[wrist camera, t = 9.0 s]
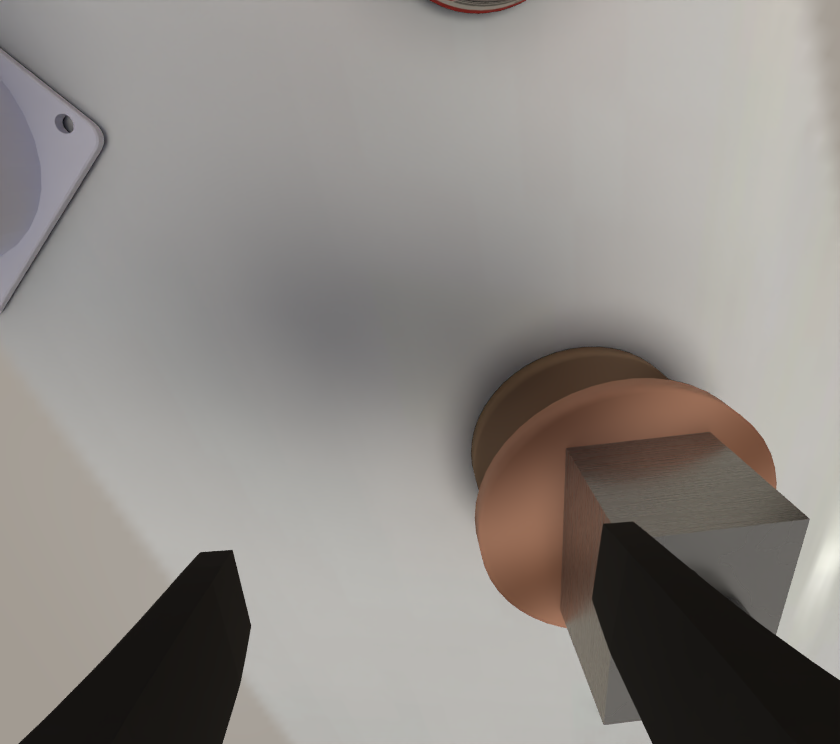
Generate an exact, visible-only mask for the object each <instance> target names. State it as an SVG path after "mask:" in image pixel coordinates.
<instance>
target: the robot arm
mask: <svg viewBox="0 0 840 744" xmlns="http://www.w3.org/2000/svg"><path fill="white" fill-rule="evenodd" d="M66 115H67V116H69V117H70V118H71V120H72V121H73V124H74V129H73V131H72V132H71V133H69V132H67V130H66V129H65V128H64V126H63V123H62V122H63V118H64V117H65V116H66ZM103 145H104V136H103V134H102V132H101V129H100V128H99V127H98V126H97V125H96V124H95V123H94V122H93V121H92V120H90V119H89V118H88V117H87V116H85V115H84V114H83V113H82V112H80V111H79V110H78V109H76V108H75V107H74V106H73V105H71V104H70V103H69V102H68V101H66V100H65V99H64V98H63V97H61V96H60V95H59V94H58V93H56V92H55V91H54V90H53V89H51V88H50V87H49V86H47V85H46V84H45V83H44V82H42V81H41V80H40V79H39V78H37V77H36V76H35V75H34V74H32V73H31V72H30V71H29V70H27V69H26V68H25V67H24V66H22V65H21V64H20V63H18V62H17V61H16V60H15V59H13V58H12V57H11V56H10V55H8V54H7V53H6V52H5V51H3V50H2V49H1V48H0V313H1V312H2V310H3V309H4V307H5V306H6V304H7V302H8V301H9V299H10V298H11V296H12V294H13V293H14V291H15V289H16V288H17V286H18V285H19V283H20V281H21V280H22V278H23V276H24V275H25V273H26V272H27V270H28V268H29V267H30V265H31V263H32V262H33V260H34V259H35V257H36V255H37V254H38V252H39V250H40V249H41V247H42V246H43V244H44V242H45V241H46V239H47V237H48V236H49V234H50V233H51V231H52V229H53V228H54V226H55V224H56V223H57V221H58V220H59V218H60V216H61V215H62V213H63V211H64V210H65V208H66V207H67V205H68V203H69V202H70V200H71V198H72V197H73V195H74V194H75V192H76V190H77V189H78V187H79V186H80V184H81V182H82V181H83V179H84V177H85V176H86V174H87V173H88V171H89V169H90V168H91V166H92V164H93V163H94V161H95V160H96V158H97V156H98V155H99V153H100V151H101V150H102V148H103ZM592 602H593V605H594V608H595V611H596V614H597V617H598V620H599V623H600V626H601V629H602V632H603V635H604V637H605V640H606V643H607V646H608V649H609V651H610V654H611V656H612V658H613V660H614V663H615V665H616V667H617V669H618V671H619V673H620V676H621V678H622V680H623V682H624V684H625V686H626V688H627V691H628V693H629V695H630V697H631V699H632V701H633V703H634V705H635V708H636V710H637V712H638V714H639V716H640V718H641V720H642V722H643V724H644V727H645V729H646V731H647V733H648V735H649V737H650V739H651V741H652V743H653V744H840V680H839V679H837V678H836V677H834V676H833V675H831V674H830V673H828V672H827V671H825V670H824V669H822V668H821V667H820V666H818V665H817V664H815V663H814V662H812V661H811V660H809V659H808V658H807V657H805V656H804V655H802V654H801V653H800V652H798V651H797V650H796V649H794V648H793V647H791V646H790V645H789V644H787V643H786V642H785V641H783V640H782V639H780V638H779V637H778V636H776V635H775V634H774V633H772V632H771V631H769V630H768V629H767V628H765V627H764V626H763V625H761V624H760V623H759V622H757V621H756V620H755V619H753V618H752V617H751V616H750V615H748V614H747V613H746V612H744V611H743V610H742V609H740V608H739V607H738V606H737V605H735V604H734V603H733V602H731V601H730V600H729V599H728V598H726V597H725V596H724V595H723V594H721V593H720V592H719V591H718V590H716V589H715V588H714V587H713V586H711V585H710V584H709V583H708V582H706V581H705V580H704V579H703V578H701V577H700V576H699V575H698V574H697V573H695V572H694V571H693V570H692V569H690V568H689V567H688V566H687V565H686V564H684V563H683V562H682V561H681V560H680V559H678V558H677V557H676V556H675V555H674V554H672V553H671V552H670V551H669V550H668V549H666V548H665V547H664V546H663V545H662V544H660V543H659V542H658V541H657V540H656V539H654V538H653V537H652V536H651V535H650V534H648V533H647V532H646V531H645V530H643V529H642V528H641V527H640V526H638V525H637V524H636V523H635V522H619V523H605V524H603V527H602V533H601V540H600V547H599V554H598V560H597V567H596V574H595V581H594V587H593V594H592ZM250 629H251V623H250V619H249V615H248V611H247V607H246V603H245V599H244V595H243V591H242V587H241V583H240V579H239V574H238V570H237V566H236V562H235V558H234V554H233V550H226V551H212V552H200V553H199V554H198V555H197V556H196V557H195V558H194V560H193V561H192V562H191V563H190V564H189V565H188V566H187V567H186V568H185V569H184V571H183V572H182V573H181V574H180V575H179V576H178V577H177V578H176V580H175V581H174V582H173V583H172V584H171V585H170V587H169V588H168V589H167V590H166V591H165V592H164V593H163V594H162V596H161V597H160V598H159V599H158V600H157V601H156V602H155V603H154V605H153V606H152V607H151V608H150V609H149V610H148V611H147V612H146V613H145V615H144V616H143V617H142V618H141V619H140V620H139V621H138V622H137V623H136V625H135V626H134V627H133V628H132V629H131V630H130V631H129V632H128V633H127V634H126V635H125V637H123V639H122V640H121V641H120V642H119V643H118V644H117V645H116V646H115V647H114V648H113V649H112V650H111V652H110V653H109V654H108V655H107V656H106V657H105V658H104V659H103V660H102V661H101V662H100V663H99V664H98V665H97V666H96V668H94V670H93V671H92V672H91V673H90V674H89V675H88V676H87V677H86V678H85V679H84V680H83V681H82V682H81V683H80V684H79V685H78V686H77V687H76V688H75V689H74V690H73V691H72V692H71V693H70V694H69V695H68V696H67V697H66V698H65V699H64V700H63V701H62V702H61V703H60V704H59V705H58V706H57V707H56V708H55V709H54V710H53V711H52V712H51V713H50V714H49V715H48V716H47V717H46V718H45V719H44V720H43V721H42V722H41V723H40V724H39V725H38V726H37V727H36V728H35V729H33V730H32V731H31V732H30V733H29V734H28V735H27V736H26V737H25V738H24V739H23V740H22V741H21V742H20V743H19V744H222V743H223V740H224V736H225V733H226V730H227V726H228V723H229V720H230V717H231V713H232V710H233V707H234V703H235V700H236V696H237V693H238V690H239V686H240V683H241V678H242V673H243V667H244V662H245V657H246V652H247V646H248V641H249V635H250Z"/></svg>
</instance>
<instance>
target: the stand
mask: <svg viewBox="0 0 840 744" xmlns="http://www.w3.org/2000/svg"><path fill="white" fill-rule="evenodd" d="M704 432H711V433H712V434H713V435H714V436H715V437H716V438H718V439H719V440H720V441H721V442H722V443H723V444H724V445H726V446H727V447H728V448H729V449H730V450H731V451H733V452H734V453H735V454H736V455H737V456H738V457H739V458H741V459H742V460H743V461H744V462H745V463H746V464H747V465H749V466H750V467H751V468H752V469H753V470H754V471H755V472H757V473H758V474H759V475H760V476H761V477H762V478H763V479H765V480H766V481H767V482H768V483H769V484H770V485H771V486H773V487H774V488H775V489H776V483H777V482H776V473H775V466H774V463H773V459H772V456H771V453H770V451H769V449H768V447H767V445H766V443H765V441H764V439H763V438H762V437H761V435H760V434H759V433H758V432H757V430H756V429H755V428H754V427H753V426H752V425H751V424H750V423H749V422H748V421H747V420H746V419H744V418H743V417H742V416H741V415H740V414H738V413H737V412H736V411H734V410H733V409H732V408H730V407H729V406H728V405H726V404H725V403H724V402H722V401H721V400H719V399H718V398H716V397H715V396H713V395H711V394H710V393H708V392H706V391H704V390H701V389H699V388H697V387H694V386H692V385H689V384H685V383H681V382H677V381H673V380H669V379H668V378H667V377H666V376H665V375H663V374H662V373H661V372H660V371H659V370H657V369H656V368H655V367H654V366H652V365H651V364H650V363H648V362H646V361H645V360H643V359H642V358H640V357H638V356H635V355H633V354H631V353H628V352H625V351H621V350H617V349H613V348H605V347H581V348H573V349H568V350H564V351H560V352H556V353H553V354H550V355H548V356H545V357H543V358H540V359H538V360H536V361H534V362H532V363H531V364H529V365H527V366H525V367H524V368H522V369H521V370H519V371H518V372H516V373H515V374H514V375H513V376H511V377H510V378H509V379H508V380H507V381H506V382H504V383H503V384H502V385H501V386H500V388H499V389H498V390H497V391H496V392H495V393H494V394H493V396H492V397H491V398H490V400H489V401H488V403H487V404H486V405H485V407H484V409H483V411H482V413H481V415H480V416H479V419H478V422H477V424H476V427H475V430H474V434H473V439H472V448H471V457H472V466H473V470H474V474H475V478H476V482H477V485H478V489H479V492H478V496H477V501H476V509H475V525H476V534H477V538H478V542H479V547H480V551H481V555H482V559H483V562H484V566H485V569H486V571H487V573H488V575H489V577H490V579H491V581H492V582H493V584H494V585H495V587H496V588H497V590H498V591H499V592H500V593H501V594H502V595H503V596H504V597H505V598H506V599H507V601H508V602H510V603H511V604H512V605H514V606H515V607H516V608H518V609H519V610H520V611H522V612H524V613H526V614H528V615H529V616H531V617H533V618H535V619H538V620H540V621H543V622H545V623H548V624H552V625H556V626H560V627H564V628H567V627H566V624H565V621H564V619H563V616H562V613H561V611H560V602H561V574H562V546H563V517H564V489H565V460H566V448H571V447H580V446H589V445H597V444H606V443H615V442H624V441H633V440H642V439H650V438H659V437H668V436H677V435H686V434H695V433H704Z"/></svg>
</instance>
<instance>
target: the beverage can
mask: <svg viewBox="0 0 840 744" xmlns="http://www.w3.org/2000/svg"><path fill="white" fill-rule="evenodd" d="M430 1H432V2H434V3H436V4H438V5H440V6H442V7H445V8H447V9H451V10H454V11H458V12H464V13H477V14H480V13H490V12H496V11H501V10H504V9H507V8H510V7H513V6H515V5H518V4H520V3H522V2H524V1H526V0H430Z"/></svg>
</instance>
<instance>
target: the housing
mask: <svg viewBox="0 0 840 744" xmlns="http://www.w3.org/2000/svg"><path fill="white" fill-rule="evenodd" d="M809 520H810V519H809V518H808V517H807V516H806V515H805V514H804V513H802V512H801V511H800V510H799V509H798V508H797V507H796V506H794V505H793V504H792V503H791V502H790V501H789V500H787V499H786V498H785V497H784V496H783V495H782V494H781V493H779V492H778V491H777V490H776V489H775V488H774V487H773V486H771V485H770V484H769V483H768V482H767V481H766V480H765V479H763V478H762V477H761V476H760V475H759V474H758V473H757V472H755V471H754V470H753V469H752V468H751V467H750V466H749V465H747V464H746V463H745V462H744V461H743V460H742V459H741V458H739V457H738V456H737V455H736V454H735V453H734V452H733V451H731V450H730V449H729V448H728V447H727V446H726V445H724V444H723V443H722V442H721V441H720V440H719V439H718V438H716V437H715V436H714V435H713V434H712V433H711V432H704V433H695V434H686V435H677V436H668V437H659V438H650V439H642V440H633V441H624V442H615V443H606V444H597V445H589V446H580V447H571V448H566V460H565V489H564V517H563V546H562V574H561V602H560V611H561V613H562V616H563V619H564V621H565V624H566V627H567V629H568V632H569V635H570V637H571V640H572V642H573V645H574V648H575V650H576V653H577V656H578V658H579V661H580V664H581V666H582V669H583V672H584V674H585V677H586V679H587V682H588V685H589V687H590V690H591V693H592V695H593V698H594V701H595V703H596V706H597V709H598V711H599V714H600V716H601V719H602V722H603V724H604V725H608V724H616V723H624V722H632V721H640V720H641V718H640V716H639V714H638V712H637V710H636V708H635V705H634V703H633V701H632V699H631V697H630V695H629V693H628V691H627V688H626V686H625V684H624V682H623V680H622V678H621V676H620V673H619V671H618V669H617V667H616V665H615V663H614V660H613V658H612V656H611V654H610V651H609V649H608V646H607V643H606V640H605V637H604V635H603V632H602V629H601V626H600V623H599V620H598V617H597V614H596V611H595V608H594V605H593V602H592V594H593V587H594V581H595V574H596V567H597V560H598V554H599V547H600V540H601V533H602V527H603V524H605V523H619V522H635V523H636V524H637V525H638V526H640V527H641V528H642V529H643V530H645V531H646V532H647V533H648V534H650V535H651V536H652V537H653V538H654V539H656V540H657V541H658V542H659V543H660V544H662V545H663V546H664V547H665V548H666V549H668V550H669V551H670V552H671V553H672V554H674V555H675V556H676V557H677V558H678V559H680V560H681V561H682V562H683V563H684V564H686V565H687V566H688V567H689V568H690V569H692V570H693V571H694V572H695V573H697V574H698V575H699V576H700V577H701V578H703V579H704V580H705V581H706V582H708V583H709V584H710V585H711V586H713V587H714V588H715V589H716V590H718V591H719V592H720V593H721V594H723V595H724V596H725V597H726V598H728V599H729V600H730V601H731V602H733V603H734V604H735V605H737V606H738V607H739V608H740V609H742V610H743V611H744V612H746V613H747V614H748V615H750V616H751V617H752V618H753V619H755V620H756V621H757V622H759V623H760V624H761V625H763V626H764V627H765V628H767V629H768V630H769V631H771V632H772V633H774V634H775V635H776V633H777V629H778V626H779V622H780V619H781V615H782V612H783V609H784V605H785V602H786V598H787V595H788V592H789V588H790V585H791V581H792V578H793V575H794V571H795V568H796V564H797V561H798V557H799V554H800V551H801V547H802V544H803V540H804V537H805V534H806V530H807V527H808V523H809Z"/></svg>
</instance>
